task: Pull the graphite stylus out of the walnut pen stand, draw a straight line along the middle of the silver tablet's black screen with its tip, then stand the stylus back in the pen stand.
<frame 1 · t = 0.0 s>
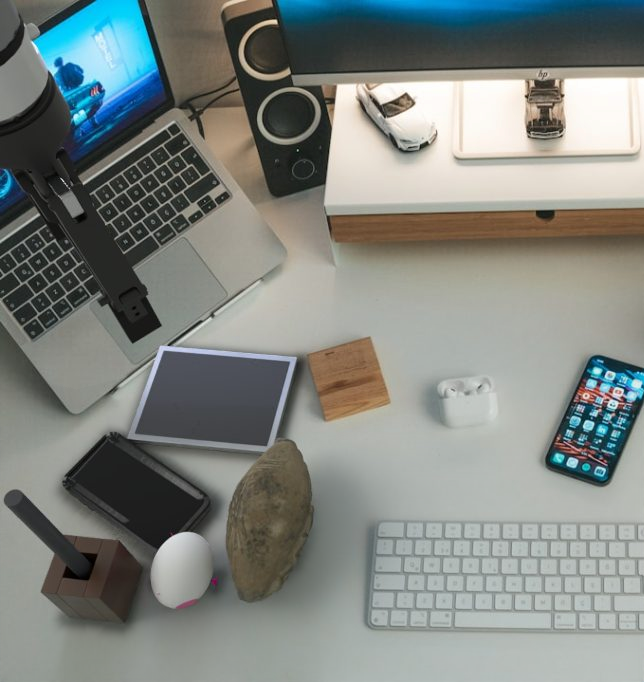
hand: (106, 280, 90), 31 cm above the table, tool pointing down, fingers open, 13 cm apart
tablet: (215, 400, 119), on the table
stylus: (63, 549, 99), in the pen stand
pen stand: (106, 592, 108), on the table
phone: (138, 496, 113), on the table
stone: (278, 534, 111), on the table
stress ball: (185, 581, 108), on the table
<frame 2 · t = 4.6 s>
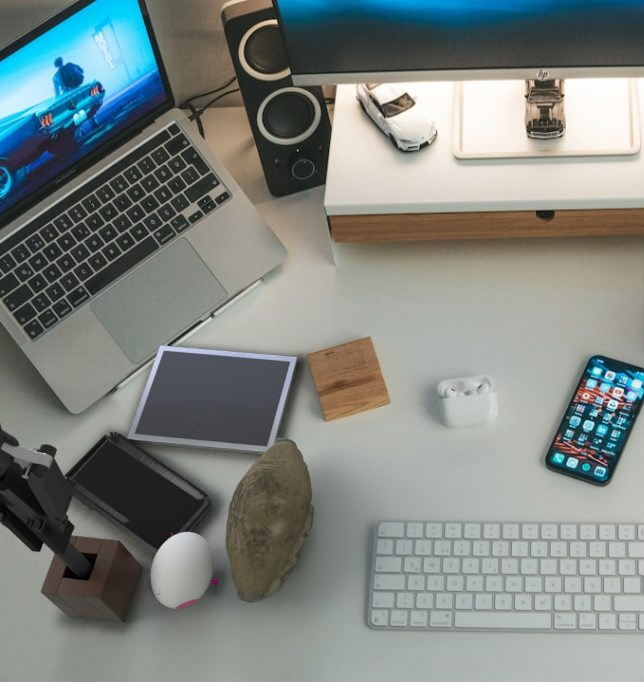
hand: (53, 538, 96), 13 cm above the table, tool pointing down, fingers closed on stylus, 1 cm apart
stylus: (63, 549, 99), in the pen stand, touching gripper
everything else where it was.
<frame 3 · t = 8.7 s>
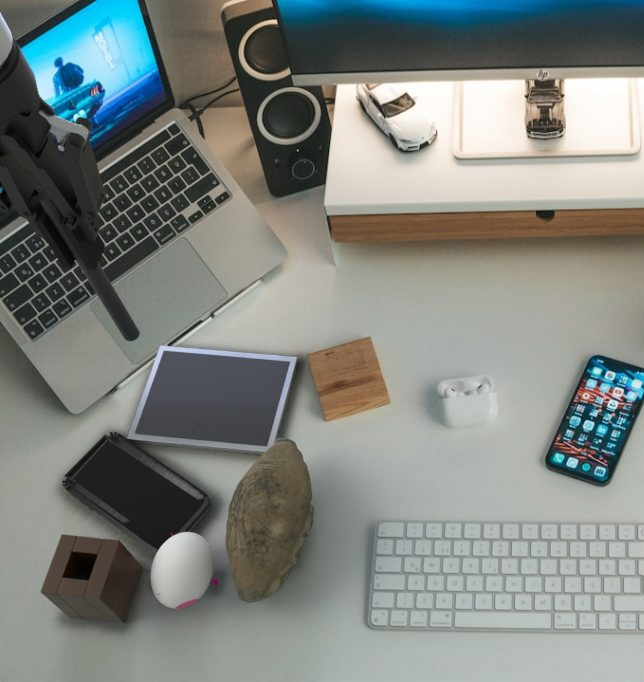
hand: (84, 256, 98), 26 cm above the table, tool pointing down, fingers closed on stylus, 1 cm apart
stylus: (94, 272, 100), point 24 cm above the table, touching gripper
everything else where it was.
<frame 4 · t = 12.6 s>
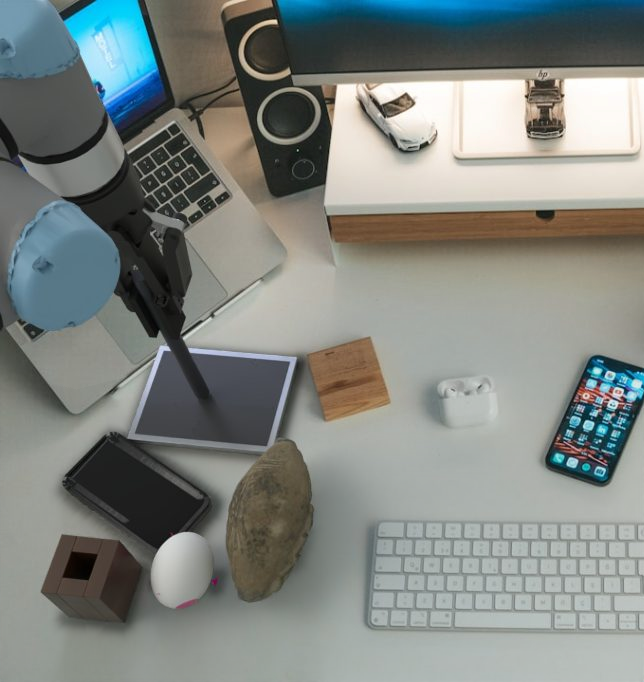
hand: (167, 327, 108), 14 cm above the table, tool pointing down, fingers closed on stylus, 1 cm apart
stylus: (174, 340, 110), point 12 cm above the table, touching gripper
everything else where it was.
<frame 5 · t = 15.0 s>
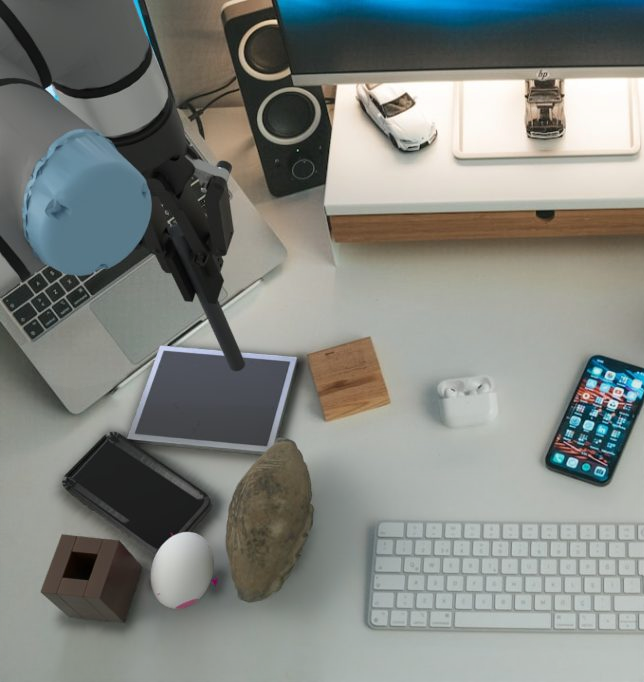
hand: (204, 290, 101), 22 cm above the table, tool pointing down, fingers closed on stylus, 1 cm apart
stylus: (211, 305, 103), point 19 cm above the table, touching gripper
everything else where it was.
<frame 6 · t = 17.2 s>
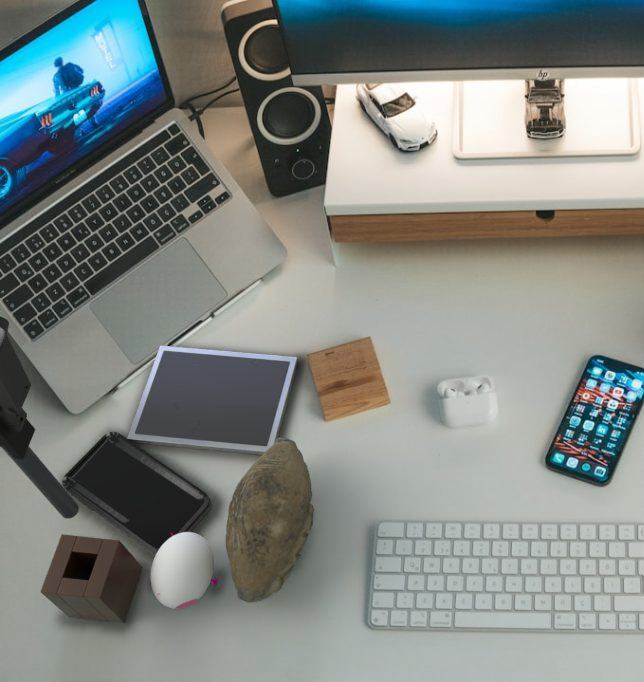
hand: (11, 442, 86), 27 cm above the table, tool pointing down, fingers closed on stylus, 1 cm apart
stylus: (23, 455, 88), point 25 cm above the table, touching gripper
everything else where it was.
when the fingers open (13 cm above the table, at t = 20.7 s): stylus stays where it is, resting on pen stand.
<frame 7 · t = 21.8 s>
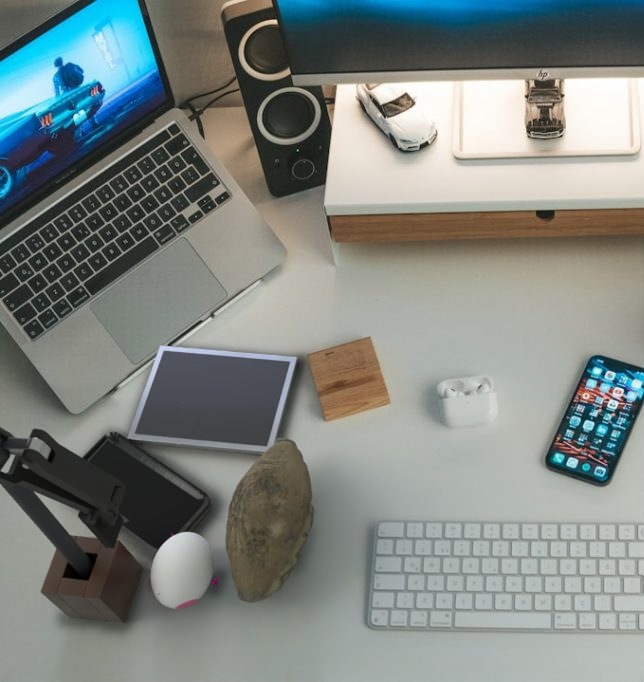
hand: (39, 525, 94), 16 cm above the table, tool pointing down, fingers open, 13 cm apart
stylus: (62, 540, 99), in the pen stand, tilted 5°
everything else where it was.
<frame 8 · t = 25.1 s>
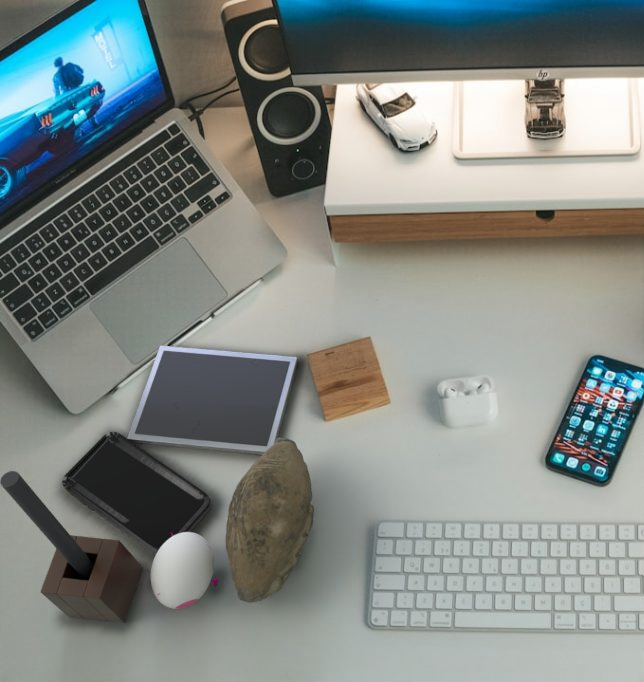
nothing on the table moved.
at the end: stylus 0.1 cm off-centre in the pen stand, point 10.9 cm above the pen stand's base; stylus tilted 5°; stylus touching pen stand, table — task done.
